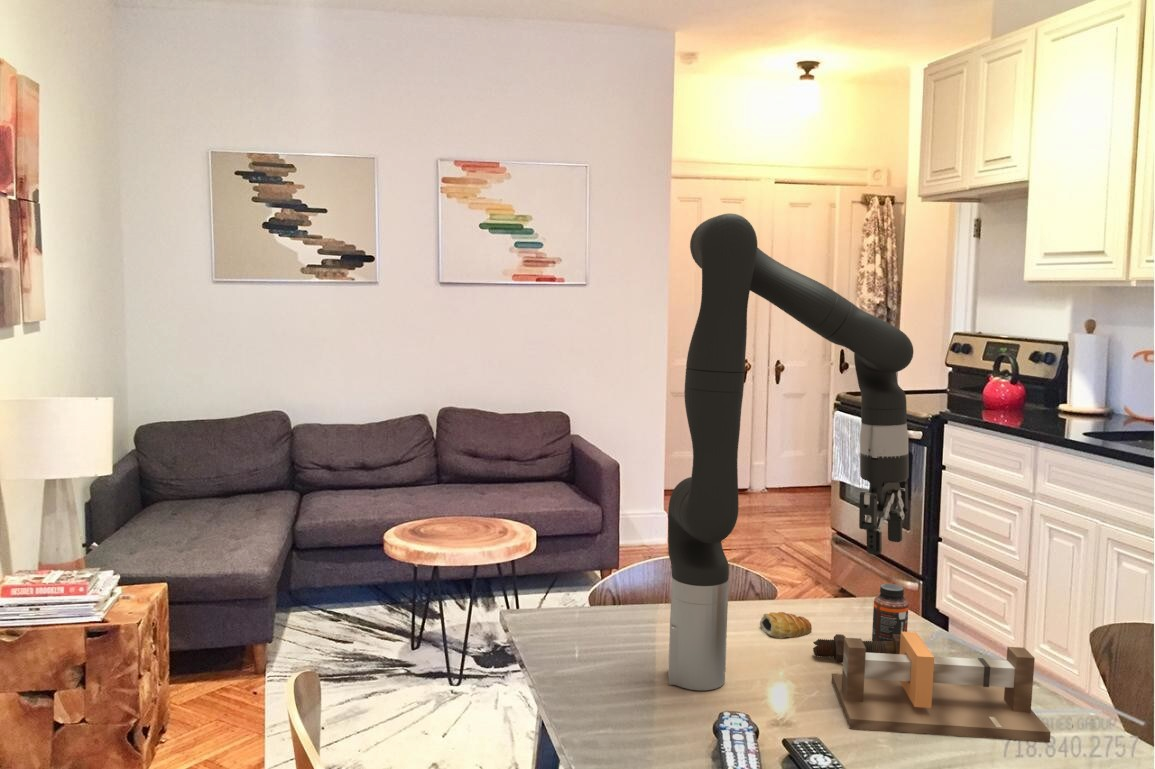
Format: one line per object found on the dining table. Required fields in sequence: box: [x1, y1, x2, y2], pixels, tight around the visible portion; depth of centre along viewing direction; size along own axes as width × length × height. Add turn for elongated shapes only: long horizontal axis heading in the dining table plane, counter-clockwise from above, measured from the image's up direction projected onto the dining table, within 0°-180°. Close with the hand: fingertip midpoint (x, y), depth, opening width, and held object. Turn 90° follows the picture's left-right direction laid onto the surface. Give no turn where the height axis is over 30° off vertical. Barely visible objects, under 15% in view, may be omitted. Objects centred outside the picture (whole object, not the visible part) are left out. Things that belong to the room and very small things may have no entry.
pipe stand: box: [830, 637, 1051, 743], centre depth 140 cm, size 28×16×10 cm, turn 84°
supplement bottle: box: [871, 583, 909, 642], centre depth 164 cm, size 6×6×11 cm
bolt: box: [812, 633, 901, 664], centre depth 158 cm, size 6×5×15 cm
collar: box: [900, 631, 934, 708], centre depth 140 cm, size 2×10×8 cm, turn 174°
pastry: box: [759, 611, 813, 639], centre depth 172 cm, size 9×7×4 cm
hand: (884, 547), depth 150 cm, fingers open, 8 cm apart
